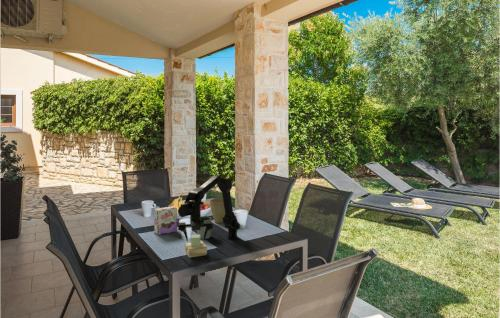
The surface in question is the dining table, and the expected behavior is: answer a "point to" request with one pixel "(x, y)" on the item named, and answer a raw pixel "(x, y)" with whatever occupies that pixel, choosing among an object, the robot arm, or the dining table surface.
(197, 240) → the sage cube
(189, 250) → the oak block
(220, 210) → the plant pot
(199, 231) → the grey green cup
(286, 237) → the dining table surface
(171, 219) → the candy box
